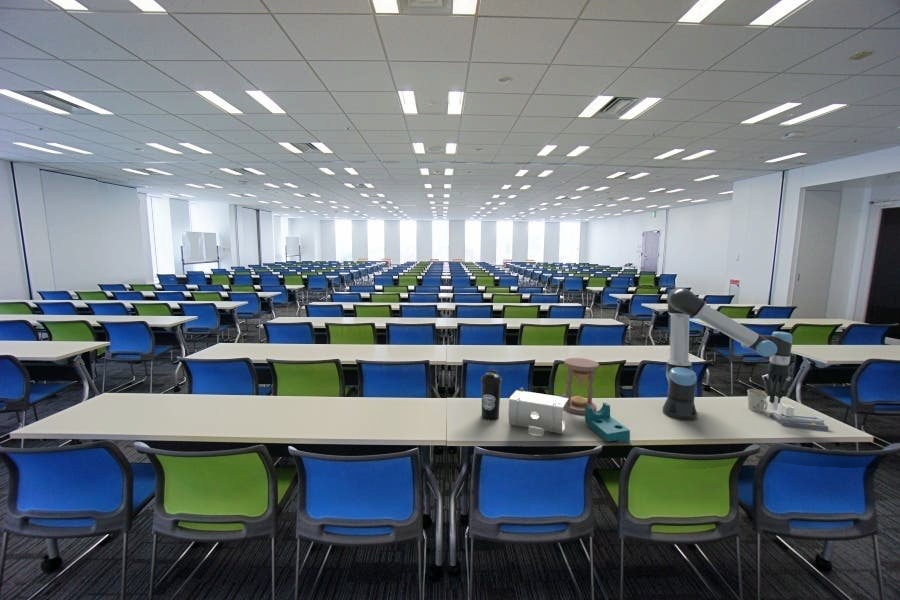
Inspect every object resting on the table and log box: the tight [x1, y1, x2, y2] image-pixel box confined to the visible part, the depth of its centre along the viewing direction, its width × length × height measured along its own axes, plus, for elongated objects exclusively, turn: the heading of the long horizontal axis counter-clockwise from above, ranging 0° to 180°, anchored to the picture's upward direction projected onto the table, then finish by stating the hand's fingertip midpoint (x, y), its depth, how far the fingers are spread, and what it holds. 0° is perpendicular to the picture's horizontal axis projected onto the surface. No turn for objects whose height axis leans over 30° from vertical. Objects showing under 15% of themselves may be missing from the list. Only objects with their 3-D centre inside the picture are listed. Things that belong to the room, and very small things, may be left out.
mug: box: [747, 388, 769, 413], centre depth 198 cm, size 8×13×10 cm, turn 174°
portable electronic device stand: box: [507, 387, 569, 438], centre depth 176 cm, size 26×24×16 cm
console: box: [769, 411, 829, 431], centre depth 184 cm, size 18×11×4 cm, turn 76°
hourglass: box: [563, 357, 600, 415], centre depth 198 cm, size 18×18×25 cm
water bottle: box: [480, 369, 503, 421], centre depth 185 cm, size 10×10×23 cm
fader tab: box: [779, 403, 795, 417], centre depth 185 cm, size 3×5×6 cm, turn 166°
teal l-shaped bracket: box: [584, 401, 631, 444], centre depth 170 cm, size 18×11×10 cm, turn 10°
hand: (773, 409), depth 187 cm, fingers closed
